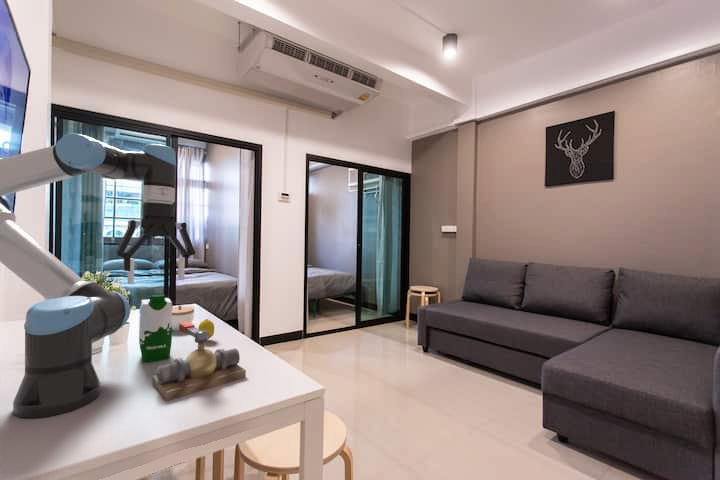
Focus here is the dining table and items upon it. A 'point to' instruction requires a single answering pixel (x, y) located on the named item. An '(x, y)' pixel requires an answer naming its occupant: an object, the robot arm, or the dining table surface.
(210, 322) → the lemon
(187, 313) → the lidded jar
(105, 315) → the robot arm
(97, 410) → the dining table surface
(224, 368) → the valve rig
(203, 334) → the lever
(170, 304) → the milk carton
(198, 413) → the dining table surface
